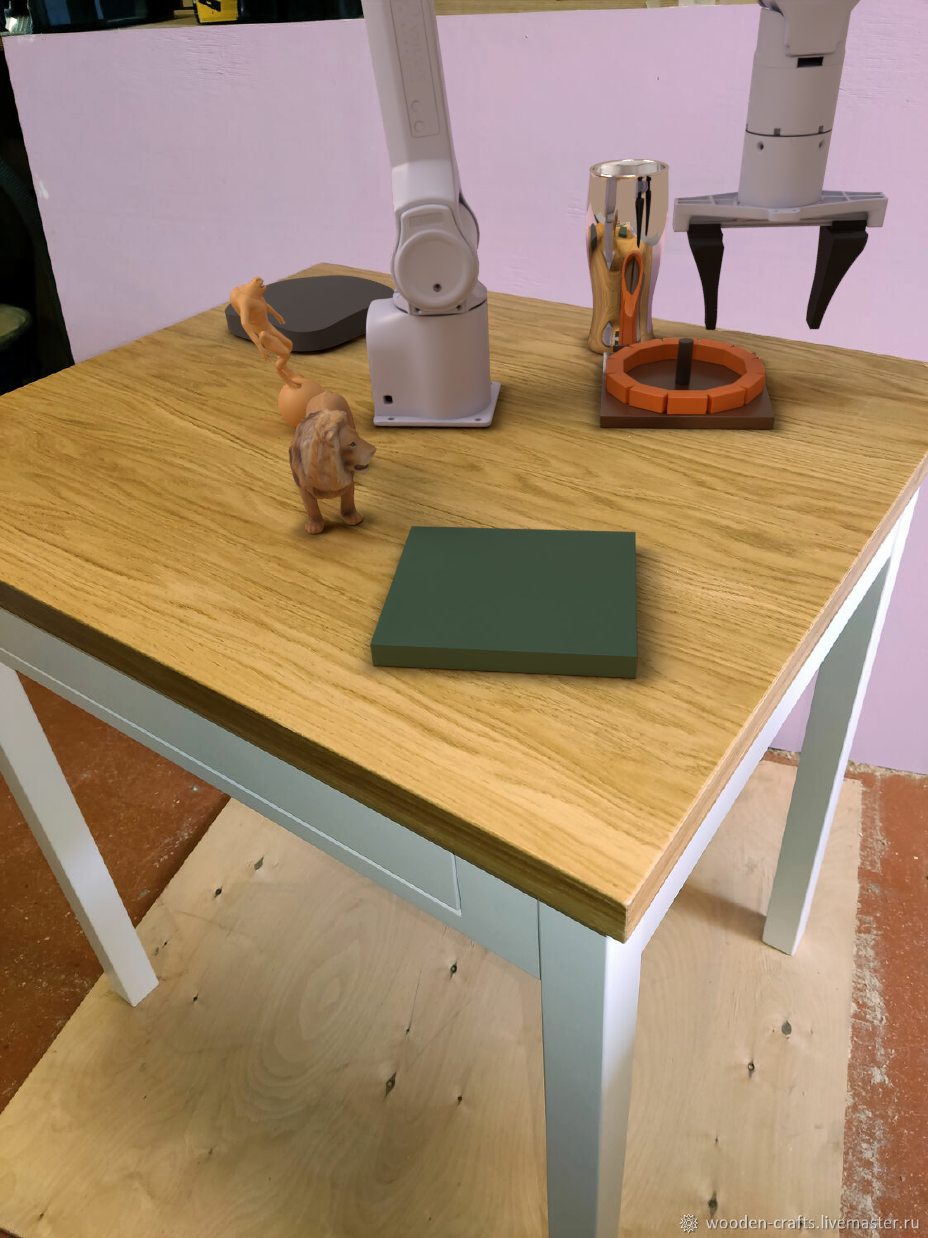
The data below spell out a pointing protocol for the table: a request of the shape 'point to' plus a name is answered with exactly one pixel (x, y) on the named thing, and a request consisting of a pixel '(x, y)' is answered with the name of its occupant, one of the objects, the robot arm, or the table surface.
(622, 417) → the post
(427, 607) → the stand
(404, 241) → the robot arm
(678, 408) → the ring
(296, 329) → the media streaming box
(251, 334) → the figurine
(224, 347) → the table surface
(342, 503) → the lion figurine
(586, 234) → the beer glass
